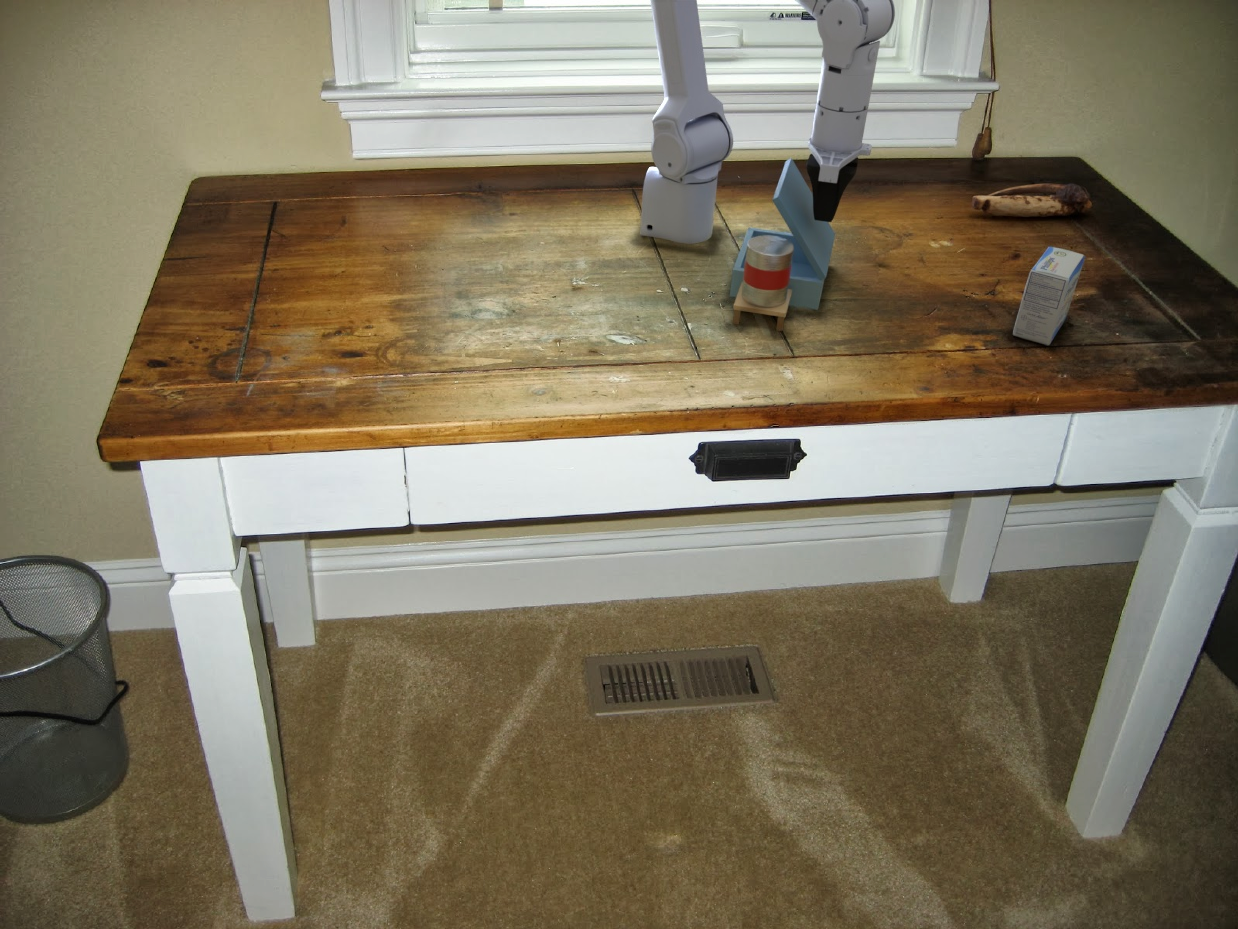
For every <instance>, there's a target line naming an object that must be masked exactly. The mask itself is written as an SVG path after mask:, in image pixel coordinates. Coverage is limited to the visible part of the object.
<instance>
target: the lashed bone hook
mask: <svg viewBox="0 0 1238 929" xmlns="http://www.w3.org/2000/svg"><path fill="white" fill-rule="evenodd" d="M1087 190H1088V189H1087V188H1086V187H1084V186H1080V185H1078V184H1075V183H1067V184H1059V183H1035V184H1026V185H1025V184H1024V185H1017V186H1012V187H1008V188H1003V189H1001V190H998V191H995V192H992V193H990V194H987V195H974V196H972V198H971V206H972V208H973V209H974V210H975V211H976V210H977V211H981V210H982V212H983V213H985V214H989V215H991V216H1004V217H1008V216H1010V217H1013V218H1029V217H1030V218H1031V217H1035V218H1036V217H1041V218H1045V217H1046V218H1047V217H1068V216H1070V215H1075V214H1082V213H1083V214H1084V213H1087V212H1089V211H1090V210H1091V209H1092V207H1093V205H1092V202H1091V200H1090V198H1091V195H1090V193H1089V192H1088V191H1087ZM1027 194H1050V195H1027Z"/></svg>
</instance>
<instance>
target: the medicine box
mask: <svg viewBox="0 0 1238 929" xmlns="http://www.w3.org/2000/svg"><path fill="white" fill-rule="evenodd" d="M1085 258H1086V256H1085V255H1084V254H1082V253H1079V252H1075V251H1072V250H1068V249H1065V248H1060V247H1054V246H1048V247H1047V248H1046V250H1045V251H1044V253H1043V254H1042V255H1041V256H1040V258H1039V259H1038V260H1037V262H1036V263H1035V265H1033V267H1032V268H1031V269H1030V271H1029V273H1028V276H1027V280H1026V283H1025V287H1024V290H1023V294H1022V298H1021V301H1020V305H1019V309H1018V313H1017V314H1016V315H1017V316H1016V318H1015V323H1014V327H1013V331H1012V336H1014V337H1017V338H1020V339H1023V340H1027V341H1031V342H1034V343H1038V344H1040V345H1044V346H1047V347H1049V346H1050V345H1051V343H1052V342H1053V341H1054V339H1055V337H1056V336H1057V334H1058V332H1059V331H1060V330H1061V328H1062V326H1063V325H1064V322H1065V320H1066V319H1067V317H1068V314H1069V310H1070V307H1071V305H1072V304H1071V303H1072V302H1073V301H1072V300H1073V297H1074V294H1075V291H1076V288H1077V284H1078V281H1079V278H1080V274H1081V272H1082V269H1083V266H1084V262H1085Z"/></svg>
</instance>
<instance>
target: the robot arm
mask: <svg viewBox="0 0 1238 929" xmlns="http://www.w3.org/2000/svg"><path fill="white" fill-rule="evenodd" d="M794 1H795V2H796V3H797V4H799V5H800V7H801V8H803V9H804V10H805V11H806V12H807V13H808V14H809V15H811V17H812V18H813V19H815V21H816V25H817V31H818V34H819V37H820V39H821V42H822V51H821V58H822V63H821V68H820V75H819V76H820V77H819V83H818V89H817V95H816V96H817V97H816V102H815V108H814V116H813V123H812V128H811V136H810V138H809V139H808V144H807V148H808V150H809V152H810V154H809V156H808V159H807V162H806V166H805V167H806V172H807V174H808V177H809V181H810V184H811V189H812V190H811V192H812V194H813V213H814V220H818V221H825V222H829V223H832V222H833V221H834V218H835V216H836V214H837V210H838V208H839V205H840V202H841V199H842V197H843V194H844V192H845V190H846V188H847V187H848V185H849V184H850V182H851V181H852V180H853V179H854V177H855V176H856V174H857V169H858V164H859V157H860V156H870V155H871V153H872V147H873V145H872V144H870V143H866V142H865V143H864V142H863V139H864V135H865V134H864V133H865V127H866V122H867V118H868V111H869V106H870V99H871V95H872V89H873V83H874V78H875V72H876V66H877V61H878V57H879V56H878V55H879V49H880V45H881V41H880V39H883V38H884V37H885V36H886V35H888V34H889V32H890V31H891V29H892V27H893V25H894V22H895V17H896V8H895V2H894V0H794ZM649 2H650V7H651V14H652V21H653V28H654V35H655V42H656V48H657V55H658V61H659V62H658V63H659V68H660V75H661V81H662V82H661V83H662V88H663V93H664V94H663V95H664V100H663V102H662V103H661V105H660V106H659V108H658V109H657V111H656V113H655V114H654V116H653V117H652V120H651V123H652V130H653V136H652V139H651V140H652V141H651V146H650V152H651V157H652V161H653V163H654V165H655V166H650V167H649V168H648V169H647V171H646V174H645V177H644V181H643V187H642V196H641V197H642V198H641V211H640V212H641V213H640V227H639V228H640V229H639V235H640V236H645V237H651V238H657V239H663V240H667V241H671V242H674V243H679V244H698V243H703V242H706V241H708V240H709V239H710V238H712V236H713V229H714V218H715V217H714V216H715V208H716V198H717V191H718V190H717V188H718V179H719V178H718V177H719V172H720V171H721V170H722V166H723V165H722V164H723V161H725V160H727V159H728V158H729V156H730V155H731V153H732V150H733V146H734V134H733V131H732V127H731V126H730V124H729V122H728V120H727V118H726V114H725V111H724V104H723V102H722V101H721V100H720V99H719V98H717V97H716V96H715V95H714V94H713V93H711V92H710V90H709V84H708V76H707V69H706V62H705V61H706V60H705V54H704V45H703V38H702V37H703V36H702V30H701V22H700V16H699V8H698V0H649ZM649 226H652V227H651V228H649Z"/></svg>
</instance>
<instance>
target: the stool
mask: <svg viewBox="0 0 1238 929" xmlns="http://www.w3.org/2000/svg"><path fill="white" fill-rule="evenodd" d="M742 284H743V282H742V283H741V286H740V289H739V291H738V294H737V297H735V300H734V303H733V308H732V309H733V310H734V311H733V320H732V324H734V325H740V322H741V316H742V314H741V313H742V312H747V313H748V312H749V313H753V314H761V315H767V316H774V317H777V322H776V328H775V329H776V331H778V332H783V330H784V324H785V318H786V316H787V313H788V311H789V307H790V306H789V302H790V298H791V295H792V290H791V289H788V292H787V298H786V301H785V303H784V304H782V305H780V306H777V307H758V306H754V305H752V304H749V303H747V302H746V301H745V300H744V299H743V298H742V296H741V293H742Z"/></svg>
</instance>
